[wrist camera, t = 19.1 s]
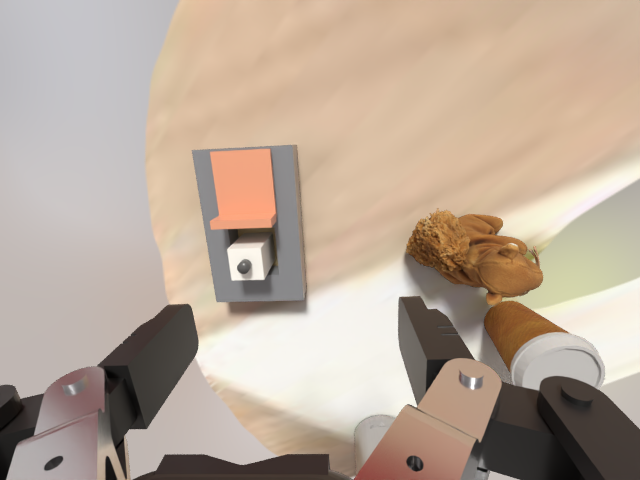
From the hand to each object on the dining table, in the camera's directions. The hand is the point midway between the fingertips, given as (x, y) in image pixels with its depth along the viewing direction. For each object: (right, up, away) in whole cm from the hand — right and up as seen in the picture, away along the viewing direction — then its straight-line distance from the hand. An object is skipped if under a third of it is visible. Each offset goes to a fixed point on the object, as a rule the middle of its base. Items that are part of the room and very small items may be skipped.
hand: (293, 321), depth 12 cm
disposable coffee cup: (+28, -9, +34) cm, 45 cm away
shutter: (-8, +9, +26) cm, 28 cm away
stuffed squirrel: (+19, +3, +31) cm, 36 cm away
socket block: (-7, +6, +31) cm, 33 cm away
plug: (-7, +2, +32) cm, 32 cm away
